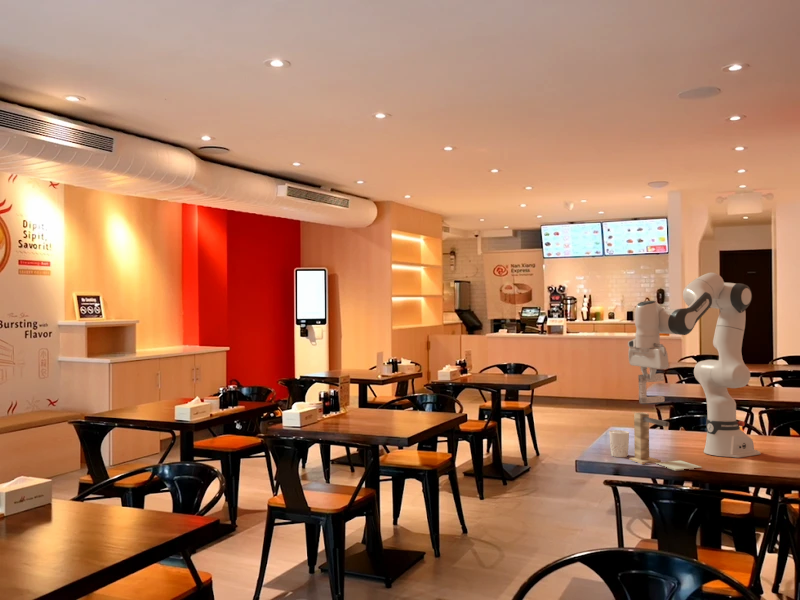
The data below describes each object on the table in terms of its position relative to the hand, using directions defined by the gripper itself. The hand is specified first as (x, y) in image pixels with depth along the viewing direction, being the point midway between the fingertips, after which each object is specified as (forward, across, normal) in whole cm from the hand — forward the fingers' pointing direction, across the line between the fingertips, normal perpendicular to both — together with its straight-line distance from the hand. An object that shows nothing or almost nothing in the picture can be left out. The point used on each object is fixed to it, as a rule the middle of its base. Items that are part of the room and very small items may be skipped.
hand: (648, 378), depth 276 cm
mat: (+34, -2, -11) cm, 36 cm away
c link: (+9, 0, -1) cm, 9 cm away
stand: (+34, +4, -4) cm, 35 cm away
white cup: (+34, +22, -1) cm, 41 cm away
